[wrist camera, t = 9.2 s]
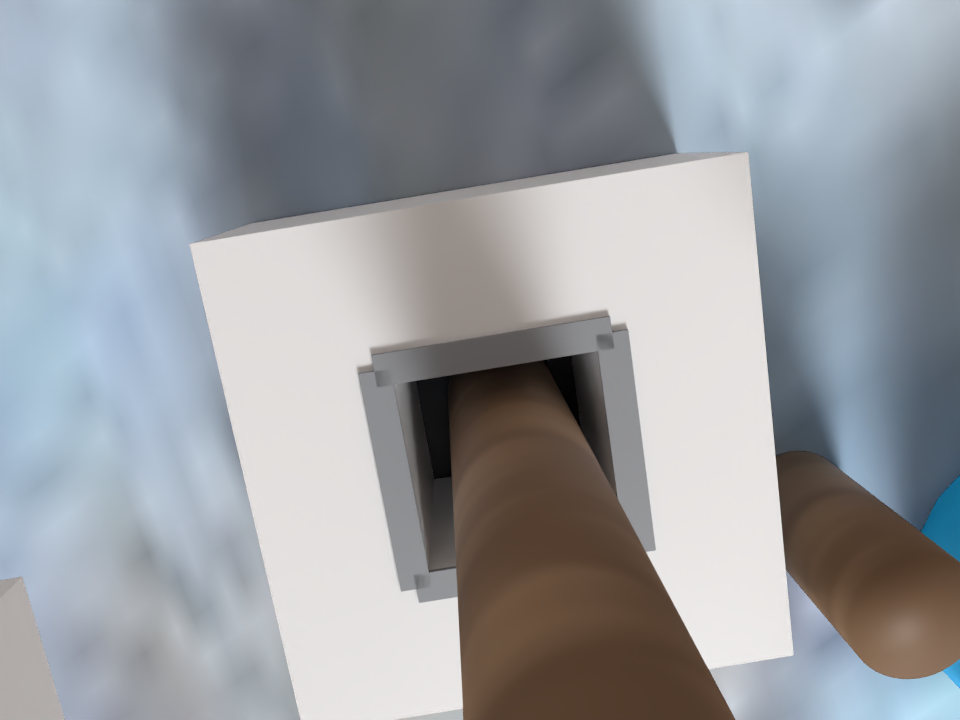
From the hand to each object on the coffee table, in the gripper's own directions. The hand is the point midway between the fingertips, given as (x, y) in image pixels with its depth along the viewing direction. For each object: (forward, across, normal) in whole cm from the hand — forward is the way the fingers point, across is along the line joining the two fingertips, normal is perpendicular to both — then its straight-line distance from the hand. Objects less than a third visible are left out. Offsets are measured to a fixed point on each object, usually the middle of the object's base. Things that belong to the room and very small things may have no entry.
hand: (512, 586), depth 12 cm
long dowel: (+10, 0, 0) cm, 10 cm away
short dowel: (+10, +7, -4) cm, 13 cm away
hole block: (+10, 0, 0) cm, 10 cm away
